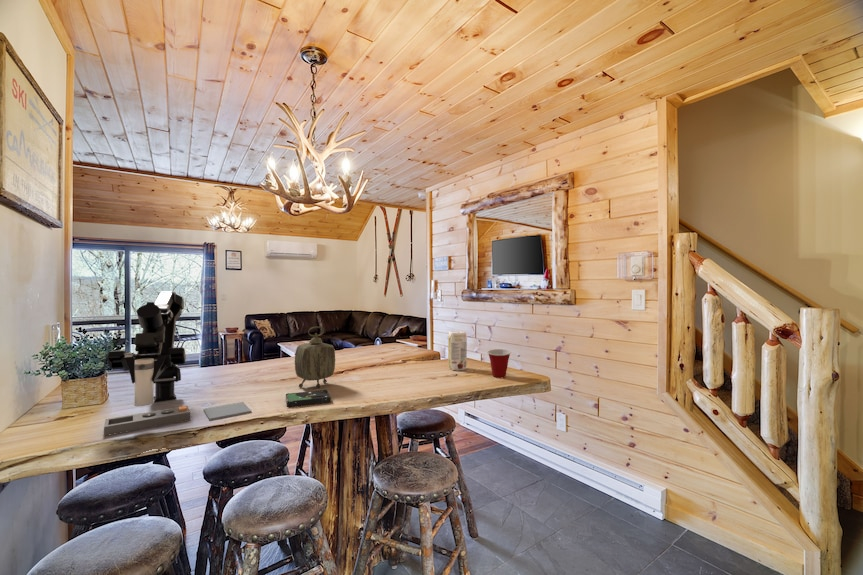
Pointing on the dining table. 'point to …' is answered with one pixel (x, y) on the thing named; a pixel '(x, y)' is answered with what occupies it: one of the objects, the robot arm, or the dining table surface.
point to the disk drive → (307, 398)
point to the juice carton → (457, 350)
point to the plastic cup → (499, 362)
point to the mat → (226, 411)
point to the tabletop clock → (314, 360)
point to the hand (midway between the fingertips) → (143, 381)
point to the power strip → (146, 420)
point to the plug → (144, 382)
